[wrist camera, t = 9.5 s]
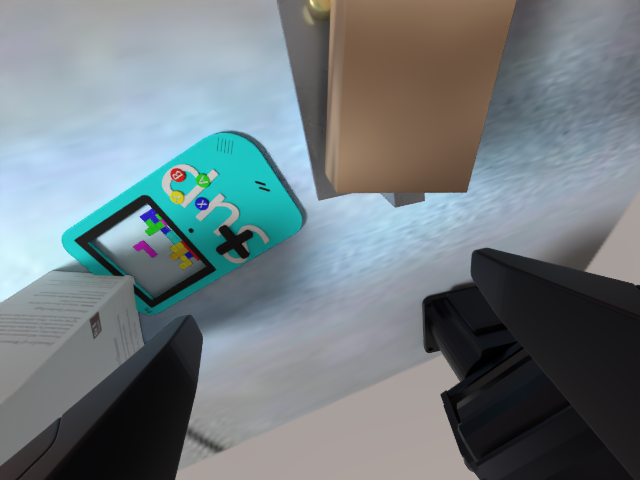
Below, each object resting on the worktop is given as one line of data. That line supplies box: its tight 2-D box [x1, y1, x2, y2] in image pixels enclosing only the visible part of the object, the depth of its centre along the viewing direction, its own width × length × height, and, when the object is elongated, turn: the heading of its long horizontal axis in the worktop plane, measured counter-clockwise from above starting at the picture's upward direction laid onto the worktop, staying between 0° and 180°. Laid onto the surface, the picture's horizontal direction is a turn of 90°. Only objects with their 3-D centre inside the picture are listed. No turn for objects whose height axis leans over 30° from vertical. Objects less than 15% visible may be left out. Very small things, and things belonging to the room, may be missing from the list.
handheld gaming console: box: [62, 133, 302, 315], centre depth 20 cm, size 8×1×15 cm
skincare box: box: [0, 271, 144, 466], centre depth 15 cm, size 8×6×15 cm
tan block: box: [325, 0, 516, 193], centre depth 12 cm, size 10×6×4 cm, turn 178°
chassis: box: [277, 0, 425, 207], centre depth 15 cm, size 13×9×6 cm
